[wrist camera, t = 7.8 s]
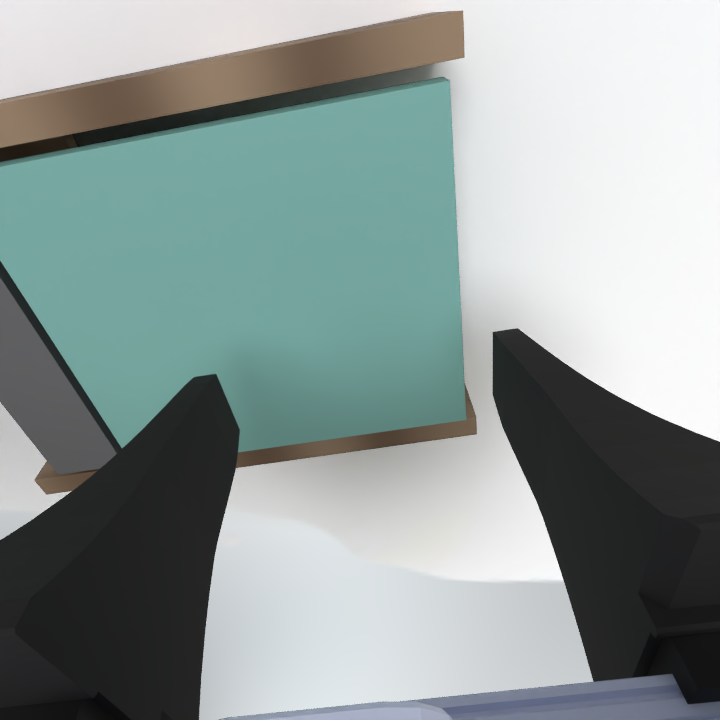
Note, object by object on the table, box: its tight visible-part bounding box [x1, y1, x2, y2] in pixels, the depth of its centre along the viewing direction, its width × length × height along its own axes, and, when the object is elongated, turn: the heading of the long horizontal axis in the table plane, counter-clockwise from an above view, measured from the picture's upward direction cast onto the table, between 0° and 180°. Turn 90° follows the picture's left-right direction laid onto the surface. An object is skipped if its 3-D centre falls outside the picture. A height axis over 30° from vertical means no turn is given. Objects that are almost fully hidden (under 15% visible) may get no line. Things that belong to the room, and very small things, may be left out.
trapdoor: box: [0, 77, 466, 475], centre depth 17 cm, size 18×12×3 cm
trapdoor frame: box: [0, 11, 477, 494], centre depth 19 cm, size 20×15×5 cm
